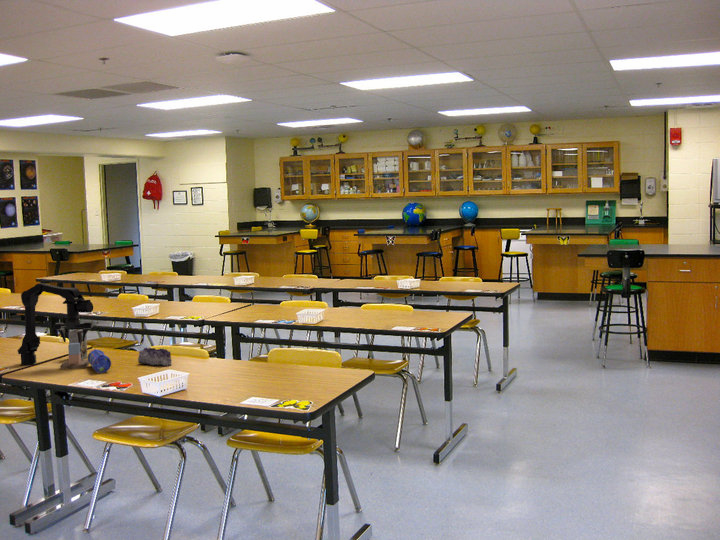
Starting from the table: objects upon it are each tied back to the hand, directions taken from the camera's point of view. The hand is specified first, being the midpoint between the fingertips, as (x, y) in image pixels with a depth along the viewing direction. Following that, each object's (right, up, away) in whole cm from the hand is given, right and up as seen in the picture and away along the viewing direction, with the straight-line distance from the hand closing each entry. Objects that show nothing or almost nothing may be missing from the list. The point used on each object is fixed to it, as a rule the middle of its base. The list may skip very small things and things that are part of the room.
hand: (74, 341), depth 357 cm
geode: (+41, -13, +6) cm, 44 cm away
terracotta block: (0, -11, +1) cm, 11 cm away
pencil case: (+15, -14, -6) cm, 22 cm away
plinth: (0, -13, +1) cm, 13 cm away
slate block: (0, -6, 0) cm, 6 cm away
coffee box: (-5, -12, +18) cm, 22 cm away
